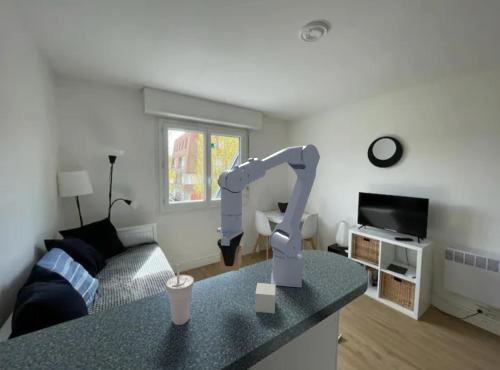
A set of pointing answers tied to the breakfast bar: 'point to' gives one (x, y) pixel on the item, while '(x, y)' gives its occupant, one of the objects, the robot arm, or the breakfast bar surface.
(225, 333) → the breakfast bar surface
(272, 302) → the offwhite cube
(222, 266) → the terracotta cube
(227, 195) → the robot arm
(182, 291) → the white cup with straw
